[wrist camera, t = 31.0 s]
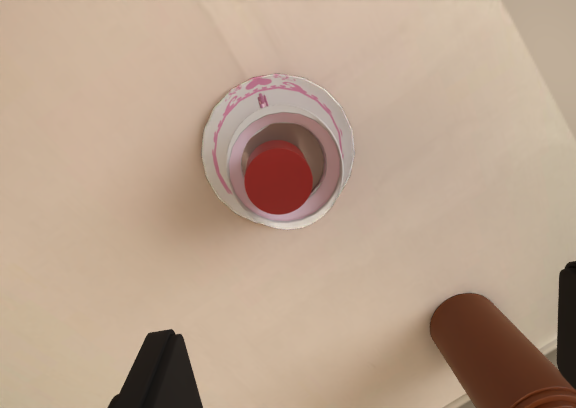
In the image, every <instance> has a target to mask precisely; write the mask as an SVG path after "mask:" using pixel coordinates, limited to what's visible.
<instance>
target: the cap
mask: <svg viewBox="0 0 576 408" xmlns="http://www.w3.org/2000/svg"><path fill="white" fill-rule="evenodd" d="M244 185H245V190H246V193H247V196H248V198H249V199H250V201H251V202H252V203H253V204H254V205H255V206H256V207H257V208H258V209H260V210H262V211H264V212H266V213H269V214H275V215H282V214H287V213H291V212H293V211H295V210H297V209H298V208H300V207H301V206H302V205H303V204H304V203H305V202H306V200H307V199H308V197H309V195H310V193H311V190H312V185H313V176H312V172H311V169H310V167H309V165H308V163H307V161H306V159H305V157H304V155H303V153H302V152H301V151H300V150H299V149H298V148H297V147H296V146H295V145H293V144H291V143H289V142H287V141H283V140H272V141H267V142H265V143H263V144H261V145H259V146H258V147H257V148H256V149H255V150H254V151H253V152H252V153H251V155H250V157H249V159H248V161H247V166H246V172H245V179H244Z"/></svg>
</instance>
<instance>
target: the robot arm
mask: <svg viewBox="0 0 576 408" xmlns="http://www.w3.org/2000/svg"><path fill="white" fill-rule="evenodd" d="M557 365H558V369H559V371H560V373H561V375H562V376H563V377H564V379H565V380H566V381H567V382H568V383H569V384H570V385H571V386H572V387H573V388H574V389H575V390H576V261H574V262H569V263H568V264H567V265H566V266H565V269H563V270H561V272H560V275H559V302H558V336H557ZM108 408H203V406H202V403H201V399H200V395H199V392H198V388H197V385H196V381H195V378H194V374H193V371H192V367H191V363H190V360H189V356H188V353H187V349H186V346H185V342H184V339H183V336H182V335H181V334H176V335H175V332H174V331H173V330H172V329H170V330H164V331H158V332H152V333H148V335H147V336H146V338H145V340H144V342H143V345H142V347H141V349H140V351H139V353H138V355H137V357H136V359H135V362H134V364H133V366H132V368H131V370H130V372H129V374H128V376H127V379H126V381H125V383H124V385H123V387H122V389H121V391H120V393H119V394H118V395H116V396H115V397H114V398H113V399H112V401H111V402H110V404H109V406H108Z"/></svg>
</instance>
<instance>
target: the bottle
mask: <svg viewBox="0 0 576 408" xmlns="http://www.w3.org/2000/svg"><path fill="white" fill-rule="evenodd" d="M430 333H431V337H432V339H433V341H434V343H435V344H436V346H437V347H438V349H439V350H440V352H441V354H442V355H443V357H444V358H445V360H446V362H447V363H448V365H449V366H450V368H451V369H452V371H453V373H454V374H455V376H456V377H457V379H458V380H459V382H460V384H461V385H462V387H463V388H464V390H465V391H466V393H467V395H468V396H469V398H470V399H471V401H472V402H473V404H474V406H475V407H476V408H576V390H575V389H574V388H573V387H572V386H571V385H570V384H569V383H568V382H567V381H566V380H565V379H564V377H563V376H562V375H561V373H560V371H559V370H558V369H557V368H556V367H555V366H554V365H553V364H552V363H551V362H550V361H549V360H548V359H547V358H546V357H545V356H544V355H543V354H542V353H541V352H540V351H539V350H538V349H537V348H536V347H535V346H534V345H533V344H532V343H531V342H530V341H529V340H528V339H527V338H526V337H525V336H524V335H523V334H522V333H521V332H520V331H519V330H518V329H517V328H516V327H515V326H514V325H513V323H512V322H511V321H510V320H509V319H508V318H507V317H506V316H505V315H504V314H503V313H502V312H501V311H500V310H499V309H498V308H497V307H496V306H495V305H494V304H493V303H492V302H491V301H490V300H488V299H487V298H485V297H484V296H481V295H478V294H472V293H465V294H460V295H456V296H454V297H451V298H449V299H448V300H446V301H445V302H443V303H442V304H441V305H440V306H439V307H438V308H437V310H436V311H435V313H434V314H433V316H432V319H431V322H430Z"/></svg>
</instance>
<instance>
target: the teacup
mask: <svg viewBox="0 0 576 408" xmlns="http://www.w3.org/2000/svg"><path fill="white" fill-rule="evenodd" d="M272 140H283V141H287V142H289V143H291V144H293V145H295V146H296V147H297V148H298V149H299V150H300V151H301V152H302V153H303V155H304V157H305V159H306V161H307V163H308V165H309V167H310V169H311V172H312V176H313V185H312V190H311V193H310V195H309V197H308V199H307V200H306V202H305V203H304V204H303V205H302V206H301V207H300V208H298V209H297V210H295V211H293V212H291V213H287V214H282V215H275V214H269V213H266V212H264V211H262V210H260V209H258V208H257V207H256V206H255V205H254V204H253V203H252V202H251V201H250V199H249V198H248V196H247V193H246V190H245V185H244V179H245V172H246V166H247V161H248V159H249V157H250V155H251V153H252V152H253V151H254V150H255V149H256V148H257V147H258V146H259V145H261V144H263V143H265V142H267V141H272ZM354 155H355V149H354V140H353V131H352V128H351V125H350V123H349V121H348V119H347V117H346V114H345V112H344V110H343V108H342V107H341V105H340V104H339V103H338V102H337V101H336V100H335V99H334V98H333V97H332V96H331V95H330V94H329V93H328V92H327V90H326V89H324V88H322V87H320V86H318V85H316V84H315V83H313V82H311V81H309V80H307V79H305V78H303V77H297V76H292V75H286V74H280V73H277V74H271V75H265V76H259V77H253V78H251V79H249V80H248V81H246V82H244V83H242V84H240V85H238V86H236V87H234V88H233V89H231V90H230V91H229V92H228V93H227V94H226V95H225V96H224V97H223V98H222V99H221V101H220V102H219V103H218V104H217V105H216V106H215V107H214V108H213V111H212V113H211V115H210V117H209V119H208V122H207V124H206V126H205V128H204V131H203V141H202V150H201V156H202V161H203V165H204V170H205V174H206V178H207V180H208V182H209V183H210V185H211V187H212V188H213V190H214V192H215V194H216V195H217V197H218V198H219V199H220V200H221V201H222V202H223V203H224V204H225V205H226V206H228V207H229V208H230V209H231V210H232V211H233V212H234V213H235V214H238V215H240V216H242V217H244V218H246V219H249V220H251V221H253V222H255V223H259V224H264V225H266V226H269V227H272V228H276V229H283V230H293V229H300V228H303V227H306V226H309V225H311V224H313V223H315V222H316V221H318V220H319V219H321V218H322V217H323V216H324V215H325V214H326V213H327V212H328V211H329V210H330V208H331V207H332V206H333V204H334V203H335V201H336V199H337V198H338V197H339V195H340V193H341V192H342V190H343V188H344V186H345V184H346V183H347V181H348V179H349V177H350V174H351V170H352V165H353V160H354Z"/></svg>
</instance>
